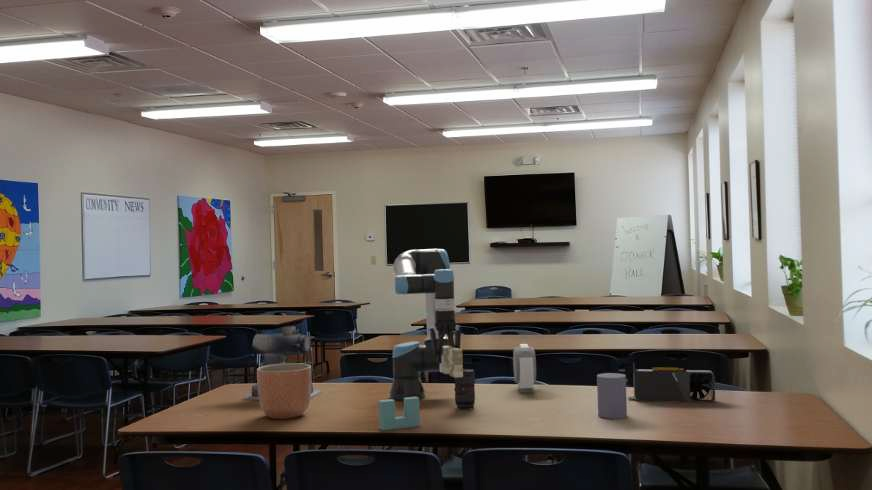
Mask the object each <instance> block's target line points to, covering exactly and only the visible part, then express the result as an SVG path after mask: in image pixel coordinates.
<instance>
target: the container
mask: <svg viewBox="0 0 872 490" xmlns="http://www.w3.org/2000/svg"><path fill="white" fill-rule="evenodd" d="M626 378H627V376H626V374H624V373H617V372H616V373H615V372H604V373H598V374H597V375H596V386H597V387H596V388H597V416H598V417H600V418H602V417H603V419H606V418H609V419H608V420H610V419H611V420H619V418H621V419H624V418H626V417H628V405H627V402H628V401H627V379H626Z"/></svg>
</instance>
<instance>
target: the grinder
mask: <svg viewBox="0 0 872 490" xmlns="http://www.w3.org/2000/svg"><path fill="white" fill-rule="evenodd" d="M280 330H281V333H257V334H255V335H254V337H253V340H252V344H251V346H252V350H253V352H254V353H255V354H257V355H259V354H260V355H264V357H263V363H262V366H267V365H274V364H286V360H285V355H293V356H294V357H298V356H299V355H302V354H304V353H307V352H309V350H310V347H311V341H310V340H311V339H310V337H309V336H308V335H305V334H303V333H299V332H300V330H299V328H296V326H285V327H282V328H281V329H280ZM262 366H261V367H262ZM313 384H314V383H313V381H312V380H311V396H310V400H311V399H313V398H315V397H316V396H319V395H320V394H322V393H323V389H314V387H313V386H314V385H313ZM241 400H242V401H244V400H245V401H259V395H258V384H257V383H256V384H254V385H252V386H251V393H249V394H247V395H244V397H242V398H241Z"/></svg>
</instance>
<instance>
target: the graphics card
mask: <svg viewBox="0 0 872 490" xmlns="http://www.w3.org/2000/svg"><path fill="white" fill-rule="evenodd" d="M632 365H633V367H635V362H633V364H632ZM632 375H633V389H634V390H633V396H628V397H627V398H628V399H627V400H629V401H630V400H635V399H636V401H638V402H662V401H678V402H677V403H713V402H715V400H716V384H715V383H716V381H715V374H714V372H712V370H709V369H708V370H705V369H703V370H702V369H701V370H700V369H698V370H697V369H695V370H694V369H692V370H690V369H686V370H684V368H679V367H661V366H660V367H658V366H657V367H652V369H645V368H643V369H636V368H633V374H632Z"/></svg>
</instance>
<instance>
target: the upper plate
mask: <svg viewBox="0 0 872 490" xmlns="http://www.w3.org/2000/svg"><path fill="white" fill-rule="evenodd" d="M442 355H444V372H440V373H441V374H444V375H449V376H450V377H452V378H457V377H463V369H464V368H463V366H464V364H463V363H464V361H463V349H462V348H460V349H458V348H454V347H451V346H443V348H442Z"/></svg>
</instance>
